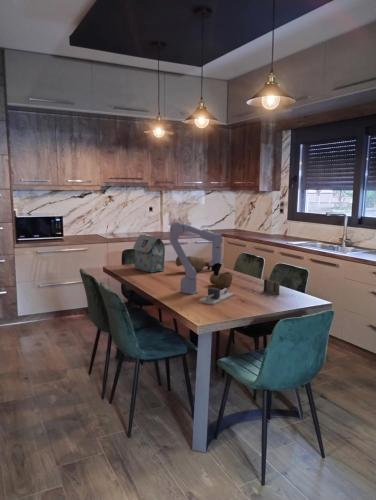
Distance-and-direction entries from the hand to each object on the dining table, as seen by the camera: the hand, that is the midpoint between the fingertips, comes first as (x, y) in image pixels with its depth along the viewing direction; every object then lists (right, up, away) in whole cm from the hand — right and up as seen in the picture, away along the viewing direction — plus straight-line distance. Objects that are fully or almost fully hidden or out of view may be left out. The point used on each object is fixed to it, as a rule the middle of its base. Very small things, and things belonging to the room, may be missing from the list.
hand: (216, 275), depth 243 cm
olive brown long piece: (-12, -1, +59) cm, 60 cm away
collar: (-2, -11, -16) cm, 20 cm away
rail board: (0, -13, -13) cm, 18 cm away
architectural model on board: (+34, -11, +3) cm, 36 cm away
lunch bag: (-47, 0, +62) cm, 78 cm away
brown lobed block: (+5, -9, +14) cm, 17 cm away
